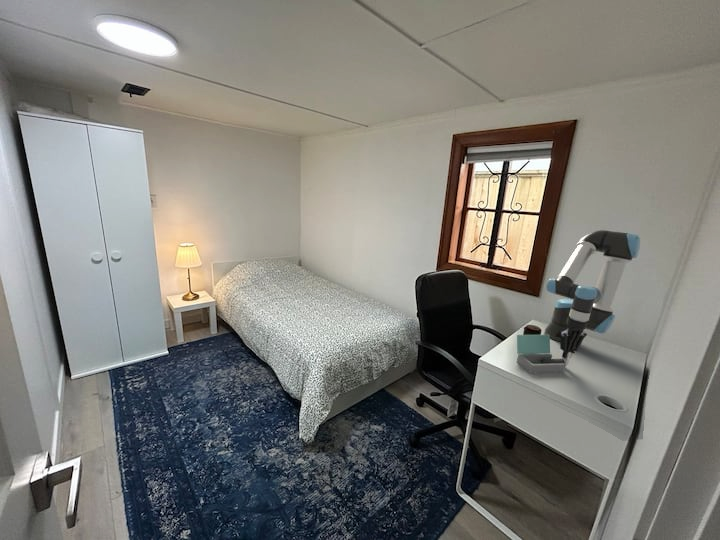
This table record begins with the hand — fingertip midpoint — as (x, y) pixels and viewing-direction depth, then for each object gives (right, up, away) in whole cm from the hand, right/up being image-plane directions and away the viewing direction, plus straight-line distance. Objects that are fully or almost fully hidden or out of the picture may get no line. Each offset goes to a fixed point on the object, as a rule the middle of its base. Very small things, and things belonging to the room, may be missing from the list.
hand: (564, 363), depth 143 cm
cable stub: (-6, -1, -1) cm, 6 cm away
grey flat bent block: (-13, -1, -2) cm, 13 cm away
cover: (-13, +9, +2) cm, 16 cm away
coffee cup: (-10, +3, +14) cm, 17 cm away
